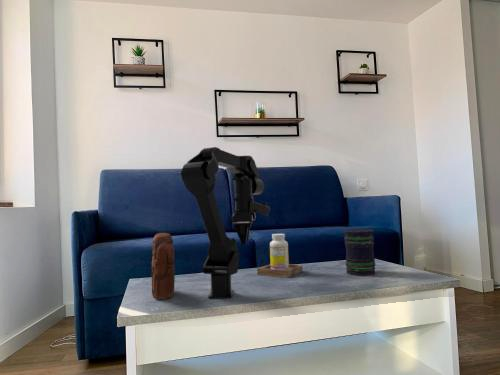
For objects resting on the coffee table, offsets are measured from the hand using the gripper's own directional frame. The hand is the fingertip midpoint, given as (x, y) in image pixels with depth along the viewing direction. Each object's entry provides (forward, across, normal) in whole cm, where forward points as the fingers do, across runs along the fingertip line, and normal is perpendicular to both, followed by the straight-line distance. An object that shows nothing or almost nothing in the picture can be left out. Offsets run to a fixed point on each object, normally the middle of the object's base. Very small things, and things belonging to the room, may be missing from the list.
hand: (245, 242), depth 111 cm
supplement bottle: (+12, +15, -11) cm, 22 cm away
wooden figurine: (+13, -12, +23) cm, 30 cm away
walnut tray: (+13, +15, -11) cm, 23 cm away
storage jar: (+13, +12, -39) cm, 43 cm away
